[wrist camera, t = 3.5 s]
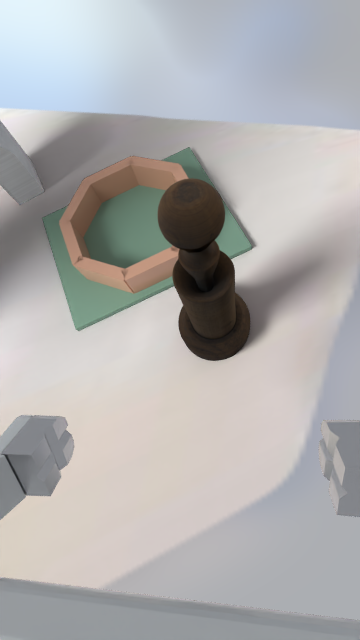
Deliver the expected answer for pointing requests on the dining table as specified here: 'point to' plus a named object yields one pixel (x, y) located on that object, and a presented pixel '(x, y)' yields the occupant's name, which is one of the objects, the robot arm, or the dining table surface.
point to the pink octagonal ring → (87, 205)
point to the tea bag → (17, 169)
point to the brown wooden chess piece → (203, 271)
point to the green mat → (127, 245)
